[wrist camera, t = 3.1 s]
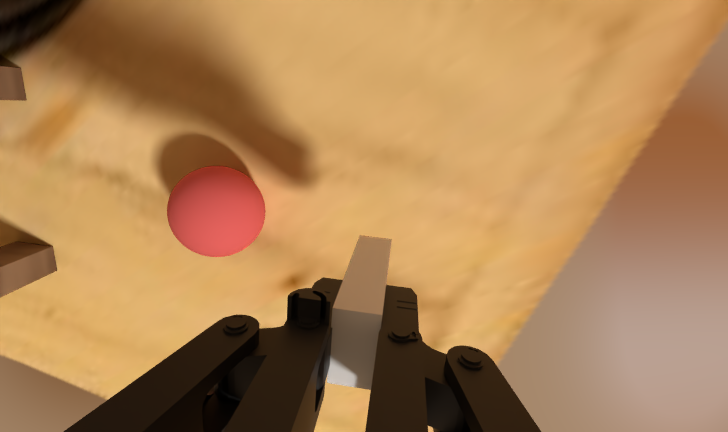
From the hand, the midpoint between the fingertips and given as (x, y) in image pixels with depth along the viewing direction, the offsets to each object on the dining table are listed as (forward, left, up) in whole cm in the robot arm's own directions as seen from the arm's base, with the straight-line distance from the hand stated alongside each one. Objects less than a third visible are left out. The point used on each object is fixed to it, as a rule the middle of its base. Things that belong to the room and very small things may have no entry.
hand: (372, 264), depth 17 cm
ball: (-10, 0, -4) cm, 11 cm away
